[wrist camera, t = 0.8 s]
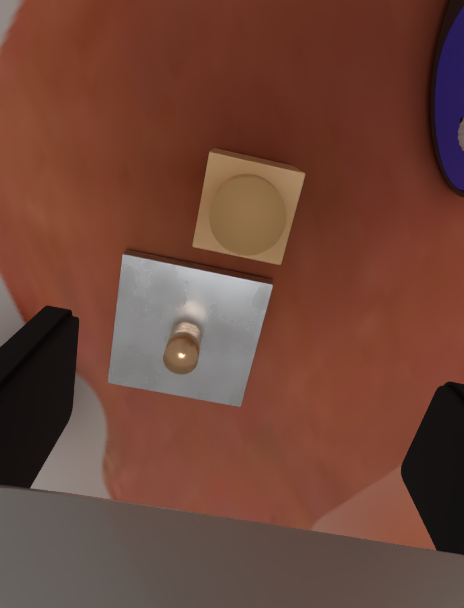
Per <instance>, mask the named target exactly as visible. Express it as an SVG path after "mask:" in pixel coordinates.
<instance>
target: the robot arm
mask: <svg viewBox="0 0 464 608" xmlns="http://www.w3.org/2000/svg"><path fill="white" fill-rule="evenodd" d="M78 331H79V318H78V317H74V316H72V311H71V310H68V309H63V308H57V307H52V306H45V307H44V308H43V309H42V310H41V311H40V312H38V313H37V314H36V315H35V316H34V317H33V318H32V319H31V320H30V321H29V322H28V323H26V324H25V325H24V326H23V327H22V328H21V329H20V330H19V331H18V332H17V333H16V334H14V335H13V336H12V337H11V338H10V339H9V340H8V341H7V342H6V343H5V344H3V345H2V346H1V347H0V608H464V384H460V383H455V382H447V383H446V384H444V386H440V387H438V388H437V390H436V392H435V394H434V396H433V398H432V400H431V403H430V405H429V407H428V409H427V411H426V413H425V416H424V418H423V420H422V422H421V424H420V426H419V428H418V431H417V433H416V435H415V437H414V439H413V441H412V444H411V446H410V448H409V450H408V452H407V454H406V456H405V459H404V461H403V463H402V466H401V475H402V478H403V481H404V483H405V485H406V487H407V489H408V491H409V494H410V496H411V498H412V500H413V502H414V504H415V506H416V508H417V510H418V512H419V514H420V516H421V518H422V520H423V523H424V525H425V527H426V529H427V531H428V533H429V535H430V537H431V539H432V541H433V543H434V545H435V547H436V550H437V551H436V550H430V549H423V548H416V547H410V546H404V545H398V544H392V543H385V542H379V541H373V540H366V539H360V538H354V537H348V536H342V535H335V534H329V533H322V532H316V531H310V530H303V529H297V528H291V527H284V526H278V525H272V524H265V523H259V522H253V521H247V520H240V519H234V518H228V517H221V516H215V515H209V514H202V513H196V512H189V511H183V510H176V509H170V508H163V507H157V506H150V505H143V504H137V503H130V502H124V501H117V500H111V499H104V498H98V497H91V496H85V495H78V494H72V493H64V492H56V491H48V490H38V489H31V488H30V487H31V485H32V483H33V482H34V480H35V478H36V477H37V475H38V473H39V471H40V470H41V468H42V466H43V464H44V463H45V461H46V459H47V458H48V456H49V454H50V452H51V451H52V449H53V447H54V446H55V444H56V442H57V440H58V439H59V437H60V435H61V433H62V432H63V430H64V428H65V427H66V425H67V423H68V421H69V419H70V416H71V412H72V408H73V397H74V383H75V370H76V357H77V344H78Z"/></svg>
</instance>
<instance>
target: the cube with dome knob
mask: <svg viewBox="0 0 464 608" xmlns="http://www.w3.org/2000/svg"><path fill="white" fill-rule="evenodd" d="M304 177H305V173H304V172H302V171H301V170H299V169H298V168H296V167H294V166H292V165H288V164H283V163H279V162H275V161H270V160H266V159H261V158H257V157H252V156H248V155H244V154H239V153H235V152H230V151H226V150H222V149H217V148H213V149H212V150H211V151H210V152H209V157H208V163H207V168H206V174H205V179H204V185H203V190H202V196H201V201H200V207H199V213H198V218H197V224H196V229H195V235H194V240H193V246H192V247H196V248H201V249H205V250H210V251H215V252H220V253H225V254H229V255H234V256H239V257H244V258H249V259H253V260H258V261H263V262H268V263H273V264H277V265H281V263H282V259H283V255H284V252H285V248H286V244H287V240H288V237H289V233H290V229H291V226H292V222H293V218H294V214H295V211H296V207H297V203H298V200H299V196H300V192H301V188H302V185H303V181H304Z"/></svg>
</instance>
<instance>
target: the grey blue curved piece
mask: <svg viewBox="0 0 464 608" xmlns="http://www.w3.org/2000/svg"><path fill="white" fill-rule="evenodd" d="M430 108H431V128H432V137H433V143H434V148H435V152H436V157H437V160H438V163H439V166H440V169H441V172H442V174H443V176H444V178H445V180H446V182H447V183H448V185H449V186H450V187H451V188H452V190H453V191H454V192H455V193H456V194H457V195H459V196H461V197H463V198H464V0H450V3H449V6H448V9H447V12H446V16H445V19H444V22H443V25H442V29H441V33H440V37H439V41H438V45H437V50H436V56H435V61H434V68H433V75H432V85H431V105H430Z"/></svg>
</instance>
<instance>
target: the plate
mask: <svg viewBox="0 0 464 608" xmlns="http://www.w3.org/2000/svg"><path fill="white" fill-rule="evenodd" d="M272 287H273V283H272V279H269V278H264V277H260V276H255V275H250V274H245V273H240V272H235V271H230V270H226V269H221V268H216V267H211V266H206V265H201V264H196V263H192V262H187V261H182V260H177V259H172V258H167V257H162V256H158V255H153V254H148V253H143V252H138V251H133V250H128V249H127V250H126V251H125V252H124V253H123V256H122V265H121V274H120V282H119V291H118V300H117V308H116V317H115V326H114V334H113V343H112V351H111V360H110V369H109V377H108V383H112V384H117V385H123V386H128V387H134V388H139V389H145V390H150V391H156V392H161V393H167V394H172V395H178V396H183V397H189V398H194V399H200V400H205V401H211V402H216V403H222V404H227V405H233V406H238V407H241V403H242V399H243V396H244V392H245V388H246V384H247V381H248V377H249V373H250V369H251V366H252V362H253V358H254V354H255V351H256V347H257V343H258V339H259V336H260V332H261V328H262V324H263V321H264V317H265V313H266V309H267V306H268V302H269V298H270V294H271V291H272Z"/></svg>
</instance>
